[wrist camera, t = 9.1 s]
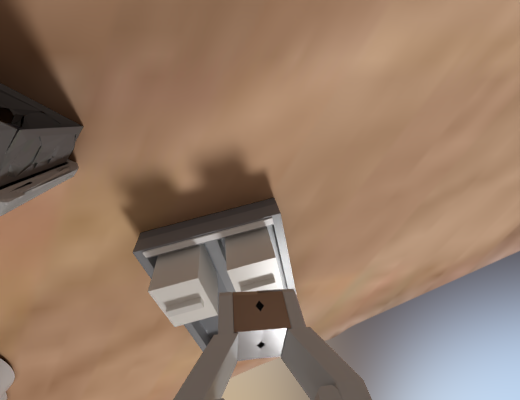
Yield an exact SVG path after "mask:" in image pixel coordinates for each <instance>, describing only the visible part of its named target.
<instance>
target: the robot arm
mask: <svg viewBox="0 0 520 400" xmlns="http://www.w3.org/2000/svg"><path fill="white" fill-rule="evenodd" d="M271 357H281V359H282V360H283V362H284V363H285V364H286V366H287V367H288V369H289V370H290V371H291V373H292V374H293V376H294V377H295V378H296V380H297V381H298V382H299V384H300V385H301V387H302V388H303V390H304V391H305V393H306V394H307V395H308V397H309V398H310V400H372V399H371V397H370V394H369V392H368V390H367V387H366V385H365V383H364V381H363V379H362V378H361V377H360V376H359V375H358V374H357V373H356V372H355V371H354V370H353V369H352V368H351V367H350V366H349V365H348V364H347V363H346V362H345V361H343V359H342V358H341V357H340V356H339V355H338V354H337V353H336V352H334V350H332V348H331V347H329V345H328V344H327V343H325V341H324V340H323V339H322V338H321V337H320V336H319V335H317V334H316V333H315V332H314V331H313V330H312V329H311V328H310V327H306V325H305V322H304V318H303V315H302V312H301V309H300V306H299V302H298V299H297V296H296V293H295V290H294V289H274V290H260V291H250V292H223V293H219V307H218V334H217V335H214V336H213V337H212V339H211V340H210V342H209V344H208V345H207V347H206V348H205V350H204V352H203V353H202V355H201V356H200V358H199V359H198V361H197V363H196V364H195V366H194V367H193V369H192V371H191V372H190V374H189V375H188V377H187V379H186V380H185V382H184V383H183V385H182V387H181V388H180V390H179V391H178V393H177V395H176V396H175V398H174V399H173V400H224V399H223V398H221V397H222V395H223V393H224V390H225V388H226V386H227V384H228V381H229V379H230V377H231V375H232V373H233V370H234V368H235V366H236V364H237V361H242V360H250V359H258V358H271ZM14 378H15V375H14V372H13V370H12V368H11V367H10V366H9V365H8V364H7V363H6V362H5V361H3V360H2V359H0V400H7V394H6V391H7V389H8V388H9V387H10V386H11V385H12V383H13V381H14Z"/></svg>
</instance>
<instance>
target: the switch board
mask: <svg viewBox="0 0 520 400" xmlns="http://www.w3.org/2000/svg"><path fill="white" fill-rule="evenodd" d="M263 227H267V229H268V233H269V236H270V239H271V243H272V246H273V249H274V253H275V256H276V260H277V264H278V268H279V272H280V277H281V281H282V285H283V289H294V290H295V285H294V280H293V275H292V270H291V265H290V259H289V254H288V249H287V244H286V239H285V234H284V229H283V224H282V219H281V214H280V211H279V209H278V206H277V204H276V201H275V199H274V198H271V199H267V200H264V201H260V202H256V203H252V204H249V205H245V206H241V207H237V208H233V209H230V210H226V211H222V212H218V213H214V214H211V215H207V216H203V217H199V218H195V219H192V220H188V221H184V222H180V223H177V224H173V225H169V226H165V227H161V228H158V229H154V230H150V231H146V232H142V233H140V236H139V238H138V241H137V243H136V245H135V248H134V250H133V254H134V255H135V257H136V258H137V259H138V261H139V262H140V264H141V265H142V266H143V268H144V269H145V271H146V272H147V274H148V275H149V276H150V278H151V279H152V275H153V272H154V268H155V264H156V261H157V257H158V255H162V254H166V253H170V252H173V251H177V250H181V249H185V248H188V247H192V246H196V245H200V244H204V246H205V248H206V250H207V253H208V255H209V257H210V259H211V261H212V263H213V266H214V268H215V270H216V272H217V282H218V307H219V293H223V292H236V291H235V289H234V287H233V284H232V282H231V279H230V277H229V275H228V272H227V266H226V248H225V238H226V237H230V236H233V235H237V234H241V233H245V232H248V231H252V230H256V229H260V228H263ZM295 293H296V290H295ZM296 296H297V295H296ZM184 326H185V327H186V328H187V330H188V331H189V333H190V334H191V335H192V337H193V338H194V340H195V341H196V342H197V344H198V345H199V347H200V348H201V350H202V351H203V352H204V350H205V348H206V347H207V345H208V344H209V342H210V340H211V339H212V337H213V336H214V335H217V334H218V315H216V316H213V317H209V318H205V319H202V320H198V321H195V322H191V323H187V324H184Z"/></svg>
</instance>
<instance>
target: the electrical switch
mask: <svg viewBox="0 0 520 400" xmlns="http://www.w3.org/2000/svg"><path fill="white" fill-rule="evenodd" d="M0 107H3V108H7V109H8V110H10V111H11V112H12V113H13V115H14V117H13V120H12V122H11V124H10V123H7V124H6V123H4V122H2V121H0V216H2V215H4V214H6V213H7V212H9V211H11V210H13V209H15V208H16V207H18V206H20V205H22V204H24V203H26V202H27V201H29V200H31V199H33V198H35V197H36V196H38V195H40V194H42V193H44V192H46V191H47V190H49V189H51V188H53V187H55V186H56V185H58V184H60V183H62V182H64V181H66V180H68V179H70V178H72V177H73V176H74V175H75V173H76V172H77V170H78V168H79V167H78V164H77V163H76V162H73V161H71V160H69V159H68V158H69V156H70V154H71V152H72V151H73V149H74V145H75V141H76V139H77V138H78V136H79V134H80V132H81V130H82V128H83V127H84V126H81V125H79V124H77V123H75V122H74V121H72V120H70V119H68V118H66V117H64V116H62V115H60V114H58V113H56V112H55V111H53V110H51V109H49V108H47V107H45V106H43V105H41V104H39V103H37V102H36V101H34V100H32V99H30V98H28V97H26V96H24V95H22V94H20V93H18V92H17V91H15V90H13V89H11V88H9V87H7V86H5V85H3V84H1V83H0ZM42 112H44V113H42ZM45 113H46V114H45ZM23 115H26V116H24V120H23V124H22V127H21V119H22V117H23Z"/></svg>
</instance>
